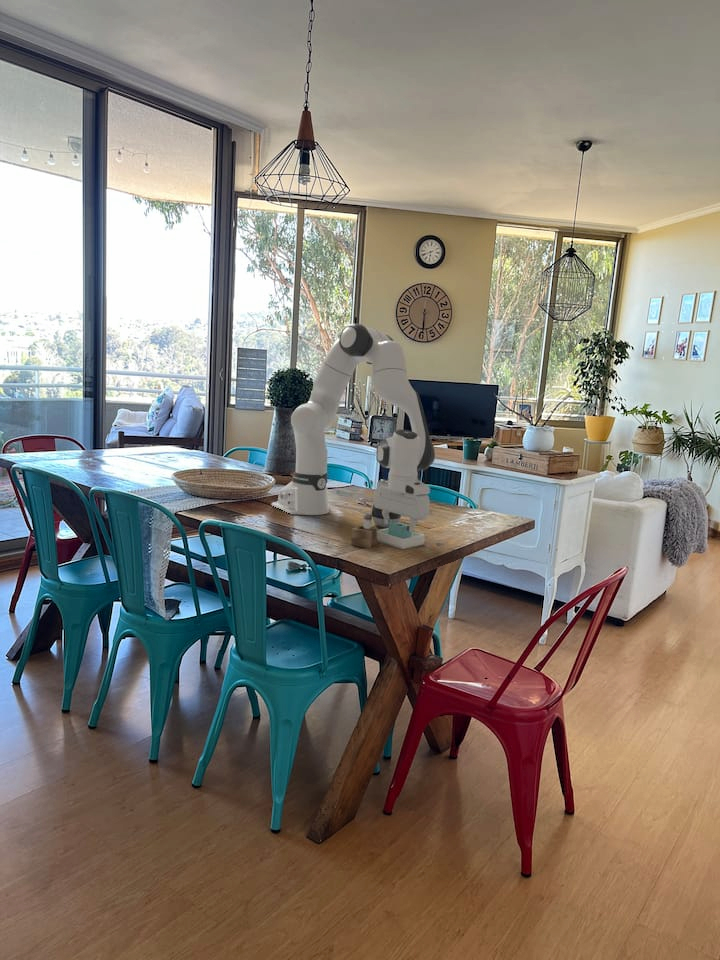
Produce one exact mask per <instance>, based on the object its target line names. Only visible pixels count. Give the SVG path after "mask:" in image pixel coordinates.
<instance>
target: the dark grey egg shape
mask: <svg viewBox="0 0 720 960" xmlns="http://www.w3.org/2000/svg"><path fill="white" fill-rule="evenodd" d="M388 514H389V518H390V519H392V520H391V524H393V523H399V522H400V521H401V518H402V515H399V514H396V513H392V512H390V513H388ZM370 515H372V521H373V523H374V524H375V525H376V526H377V527H378V528H379V527H380V528H383V529H385V528H389V525H385V524H384V517H383V514H382V509H378V508H375V507H374V504H373V503H372V505H371V510H370Z"/></svg>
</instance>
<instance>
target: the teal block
mask: <svg viewBox="0 0 720 960" xmlns="http://www.w3.org/2000/svg"><path fill="white" fill-rule="evenodd" d="M408 525H409V524H407V523H403V522H400V521H399V522H398V523H393V524H389V530H388V535H391V536H395V537H398V538H402V539H405V538H409V537H411V532H409V531H407V526H408Z"/></svg>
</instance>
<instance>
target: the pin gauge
mask: <svg viewBox="0 0 720 960" xmlns="http://www.w3.org/2000/svg"><path fill="white" fill-rule="evenodd" d="M372 521H373V519H372V515H371V514H369V513H368V514H364V515H363V525H364V530H369V529H371V527H372Z"/></svg>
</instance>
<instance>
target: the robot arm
mask: <svg viewBox="0 0 720 960" xmlns="http://www.w3.org/2000/svg"><path fill="white" fill-rule="evenodd" d="M339 334H340V335H339V337H338V338H337V339H336V340H335V341H334V343H333V344H332V345H331V347H330V349H329V350H328V351H327V353H326V355H325V357H324V359H323V360H322V363H321V365H320V367H319V369H318V371H317V373H316V375H315V378H314V380H313V383H312V384H313V386H312V391H311V393H310V397H309V400H308V401H307V402H306V403H303V404H300V405H299V406H297V407H296V408H295V409H294V411H292V413H291V416H290V424H291V427H292V428H293V436H294V442H295V451H296V452H295V471H293V472H291V474H290V477H291V476H292V478H291V481H290V482H289V483H288V484H286V485H285V486H283V487H282V488H281V489H280V490H279V491H278V497H277V501H273V502H272V503H271V504H270V506H271V505H272V506H271V507H273V506H274V508H275V507H276V508H275V509H277V508H279V509H281V510H283V511H282V512H284V511H285V512H284V513H286V512H287V513H286V514H288V513H290V514H289V515H301V516H302V515H303V516H322V515H325V514H328V513H330V505H329V495H328V493H329V491H328V487H327V484H328V479H329V477H328V474H329V473H328V471H327V469H328V449H327V445H326V436H325V432H326V431H328V430H329V429H330V428H331V427H332V426H333V424H334V422H335V418H336V415H337V412H338V409H339V406H340V403H341V401H342V400H341V399H342V397H343V395H344V392H345V391H346V388H347V386H348V385H349V383H350V381H351V378H352V376H353V374H354V372H355V369H356V368H357V366H358V364H360V363H361V362H364V363H366V364H368V365H371V366H372V385H373V388H374V393H375V394H376V395H377V396H378V398H380V399H381V400H383V401H384V402H386V403H388V404H390V405H393V406H395V407H397V408H399V409H400V410H402V411H403V412H404V413H406V415H407V416H408V418H409V423H410V428H411V430H409V429H398V430H395V431H394V432H393V434H392V436H389V437H388V438H387V437H386V438H383V439H381V440H380V441H379V443H378V444H377V446H376V455H375V456H376V461H377V462H378V464H379V465H380V466H381V467H382V468H386V469H389V472H388V477H387V480H386V479H383V478H382V479H380V480H378V481H377V483H376V488H375V491H374V496H373V502H372V505H373V504H374V507H375V508H378V509H382V514H383V517H384V524H385V525H389V524H391V520H392V519H390V518H389V514H388V513H390V512H392V513H396V514H399V515H401V516H403V517H406V518H409V521H410V522H409V524H408V526H407V531H409V532H415V526H416V524H417V523H418V522H419V521H425V520H426V519H428V518H429V516H430V506H431V505H430V504H431V503H430V502H431V501H430V497H429V495H430V493H431V492H430V491H431V487H429V486H428V485H427V484H426V483H424V482H422V480H420V479H419V478H418V475H419V474H418V471H423V472H424V471H425V470H427V469H428V468H429V467H431V466H432V464H433V463H434V462H435V457H436V452H435V447H434V444H433V442H432V440H431V436H430V433H429V429H428V424H427V421H426V415H425V412H424V407H423V404H422V401H421V397H420V395H419V393H418V392H417V391H416V390H415V389H414V388H413V387H412V385H411V383H410V381H409V378H408V370H407V362H406V356H405V352H404V349H403V346H402V345H401V343H399V342H398V341H395V340H394V339H393V338H392V337H391V336H389V335H388V334H385V333H383V332H382V331H379V330H378V329H376V328H372V327H368V326H364V325H363V324H361V323H349V324H347V325H346V326H345V327H343V329H342V330H341V332H340V333H339ZM428 494H429V495H428ZM279 509H278V510H279ZM281 510H280V511H281Z"/></svg>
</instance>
